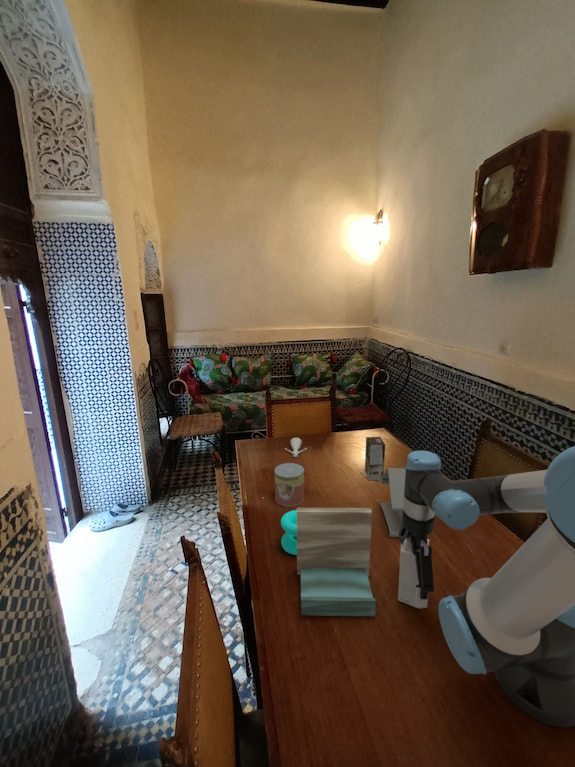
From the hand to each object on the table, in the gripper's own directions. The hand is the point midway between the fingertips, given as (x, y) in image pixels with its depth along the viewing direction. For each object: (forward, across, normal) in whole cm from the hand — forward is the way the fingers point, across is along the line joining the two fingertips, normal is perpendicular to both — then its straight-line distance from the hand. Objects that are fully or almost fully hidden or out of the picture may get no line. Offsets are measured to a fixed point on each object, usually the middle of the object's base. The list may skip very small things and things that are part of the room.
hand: (412, 584), depth 93 cm
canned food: (+4, +45, +33) cm, 56 cm away
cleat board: (+3, 0, +20) cm, 20 cm away
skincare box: (+3, 0, 0) cm, 3 cm away
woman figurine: (+4, +88, +31) cm, 94 cm away
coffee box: (+4, +63, -3) cm, 63 cm away
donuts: (+3, +18, +30) cm, 35 cm away
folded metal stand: (+3, +31, -5) cm, 31 cm away
